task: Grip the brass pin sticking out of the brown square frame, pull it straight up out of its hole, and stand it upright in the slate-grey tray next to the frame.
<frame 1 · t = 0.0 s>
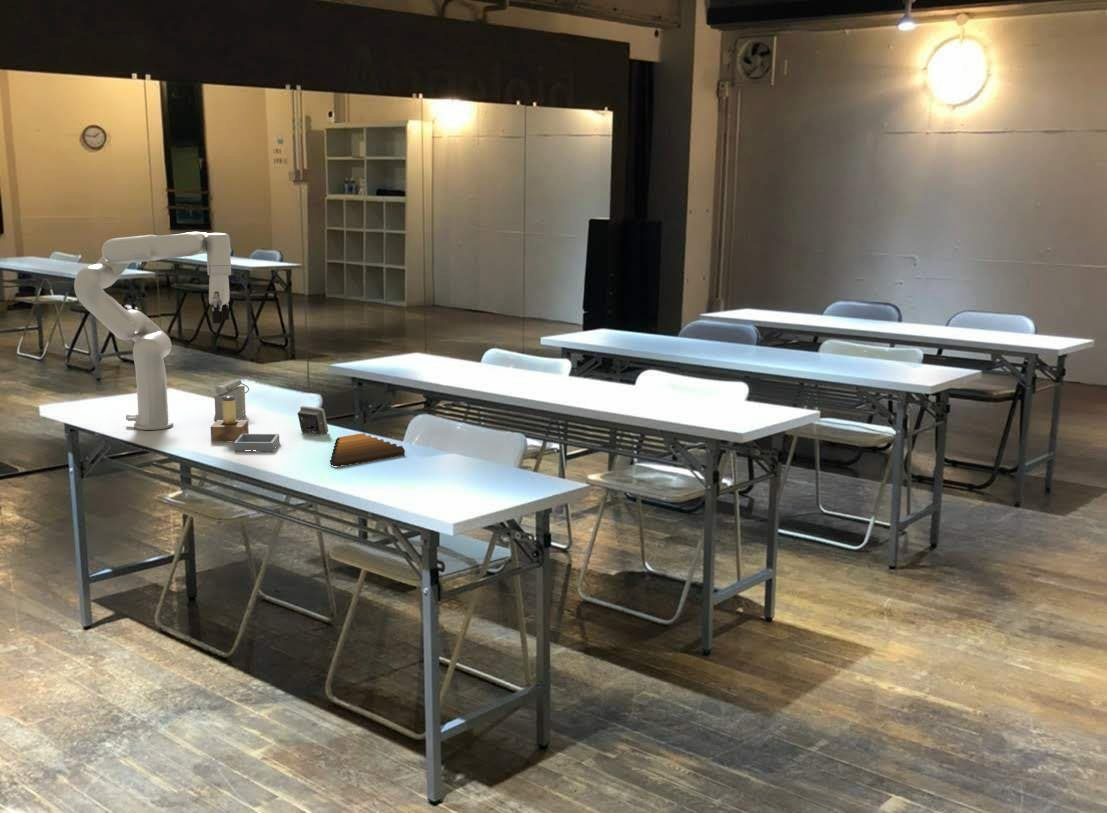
hand: (221, 321, 349), 37 cm above the table, tool pointing down, fingers open, 9 cm apart
brass pin: (229, 417, 340), in the brown square frame
electrical switch: (313, 433, 352), on the table
pan flute: (349, 455, 327), on the table
parts tray: (257, 447, 331), on the table
geiger counter: (229, 422, 365), on the table
brown square frame: (230, 438, 342), on the table
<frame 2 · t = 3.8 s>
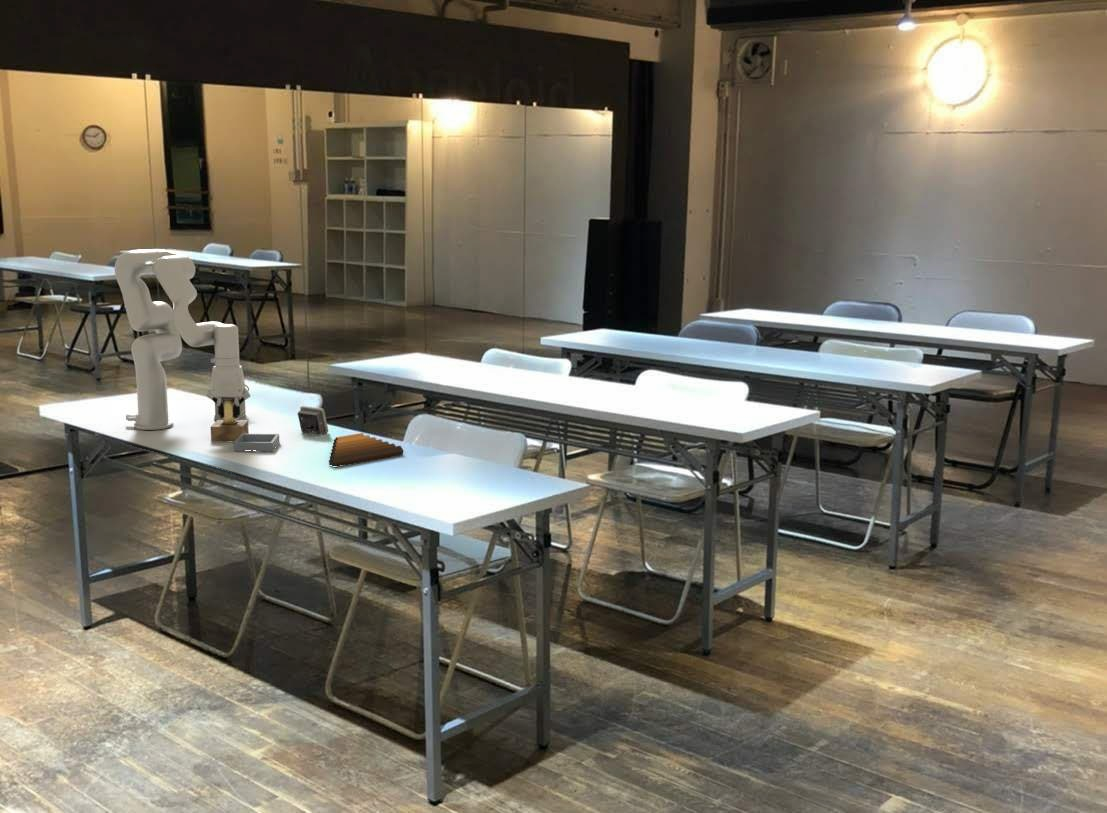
hand: (229, 416, 340), 7 cm above the table, tool pointing down, fingers closed on brass pin, 4 cm apart
brass pin: (229, 417, 340), in the brown square frame, touching gripper
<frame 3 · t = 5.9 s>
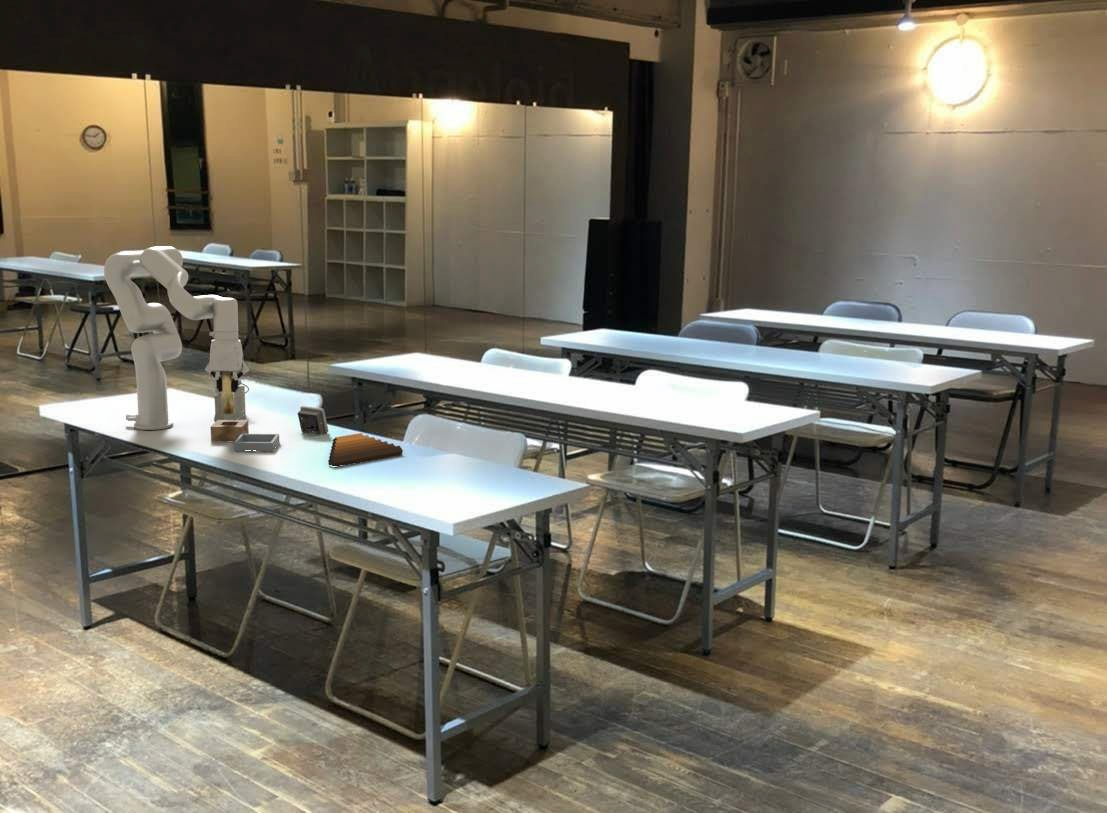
hand: (227, 390, 339), 16 cm above the table, tool pointing down, fingers closed on brass pin, 4 cm apart
brass pin: (227, 391, 339), point 16 cm above the table, touching gripper
everything else where it was.
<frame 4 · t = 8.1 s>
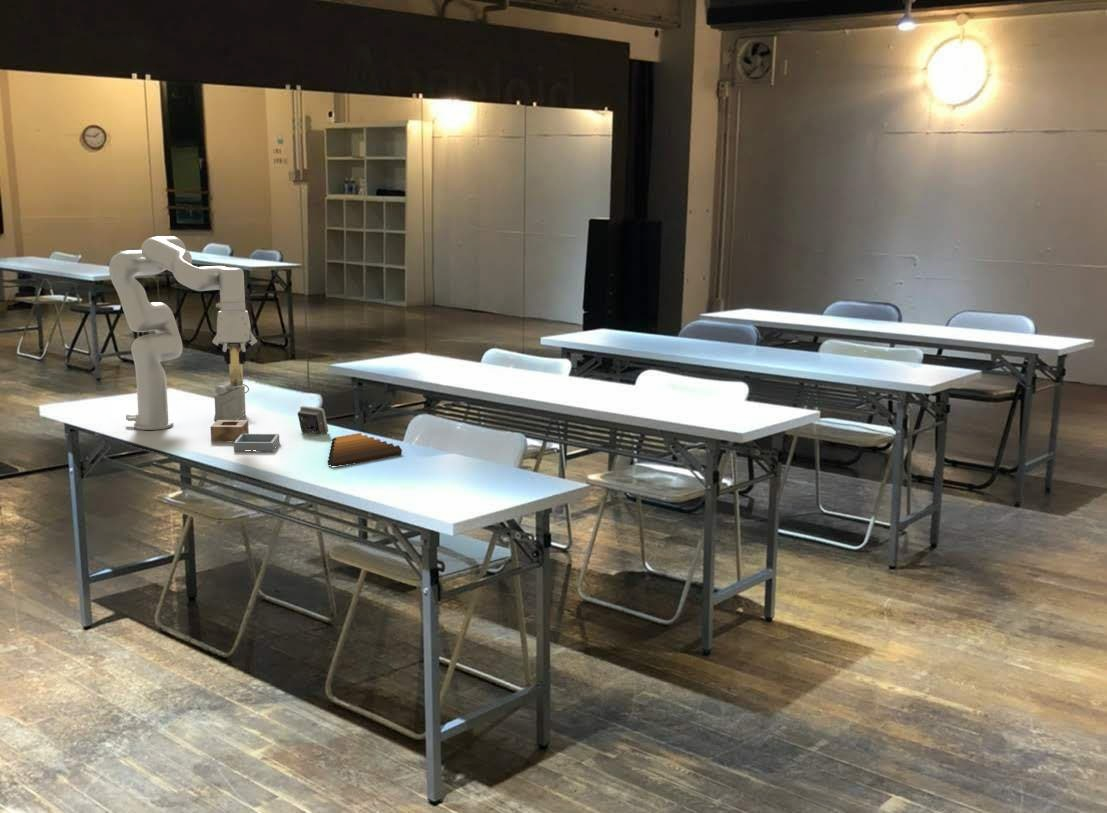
hand: (235, 362, 333), 26 cm above the table, tool pointing down, fingers closed on brass pin, 4 cm apart
brass pin: (235, 363, 333), point 26 cm above the table, touching gripper
everything else where it was.
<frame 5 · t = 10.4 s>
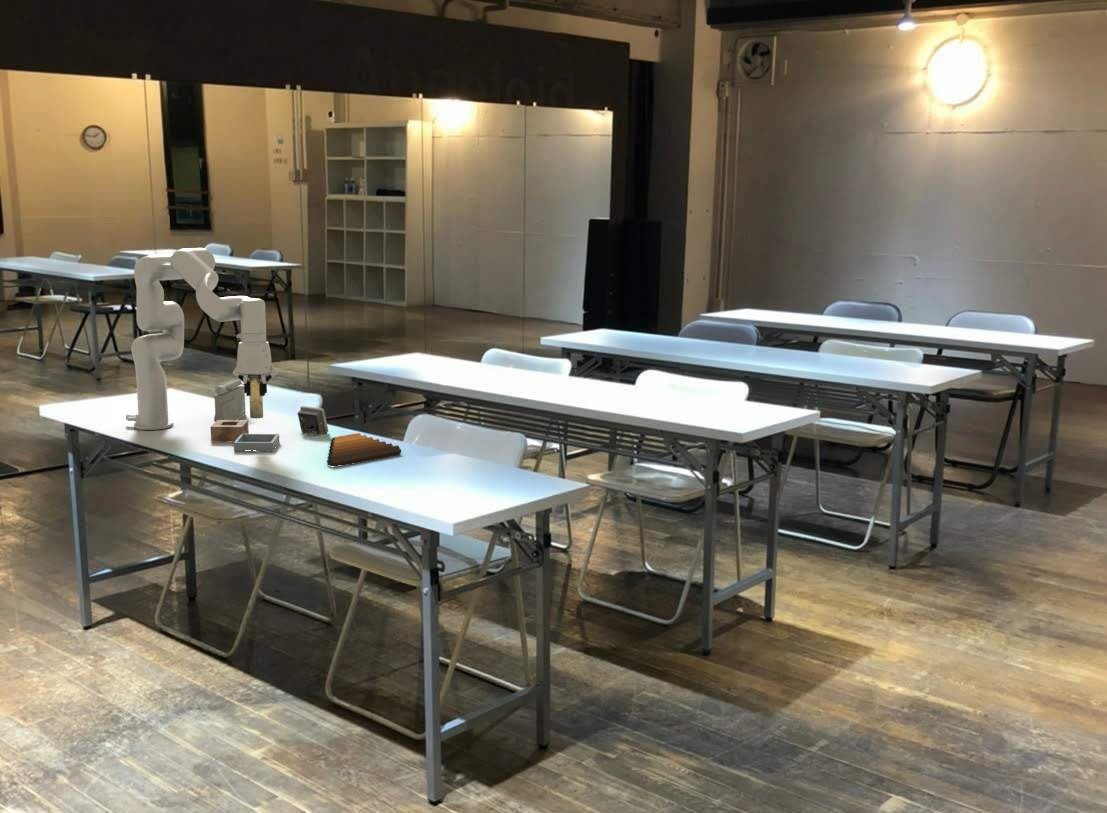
hand: (255, 394, 327), 17 cm above the table, tool pointing down, fingers closed on brass pin, 4 cm apart
brass pin: (255, 395, 327), point 17 cm above the table, touching gripper
when the fingers open (10 cm above the table, at t = 12.5 s): brass pin drops 2 cm, resting on parts tray.
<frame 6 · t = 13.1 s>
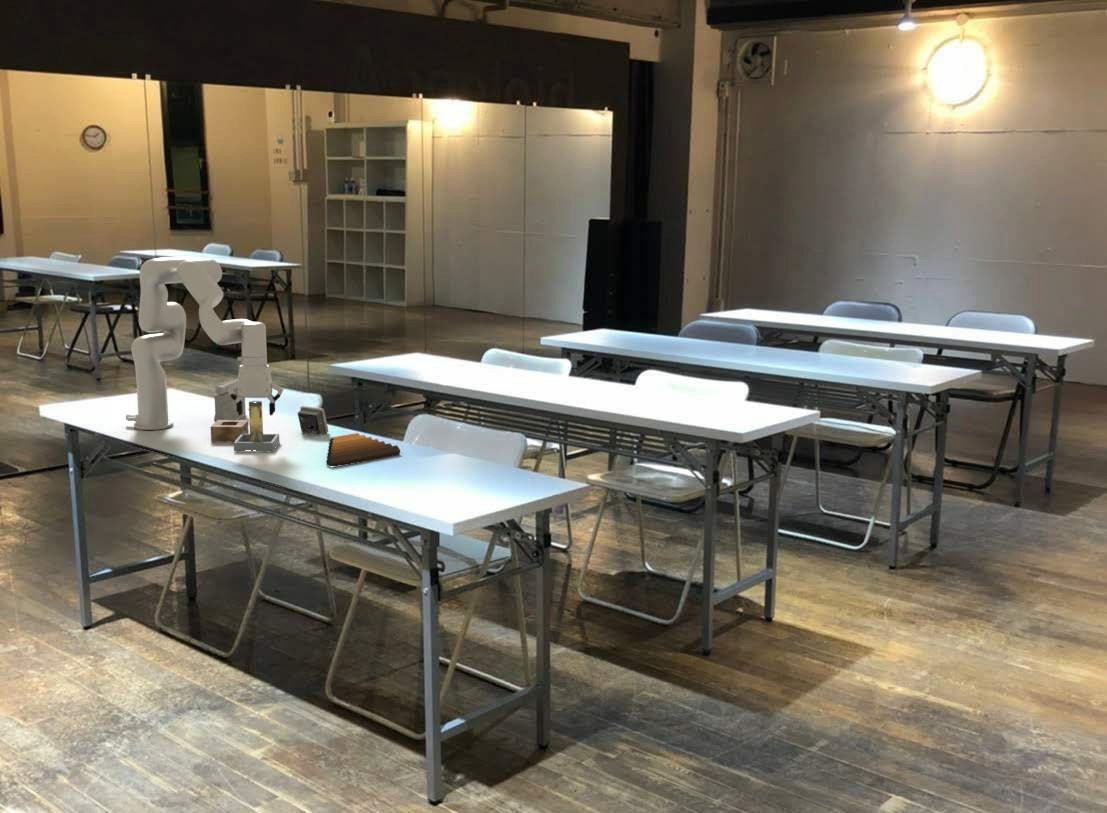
hand: (256, 414, 329), 11 cm above the table, tool pointing down, fingers open, 9 cm apart
brass pin: (256, 423, 329), in the parts tray, point 8 cm above the table
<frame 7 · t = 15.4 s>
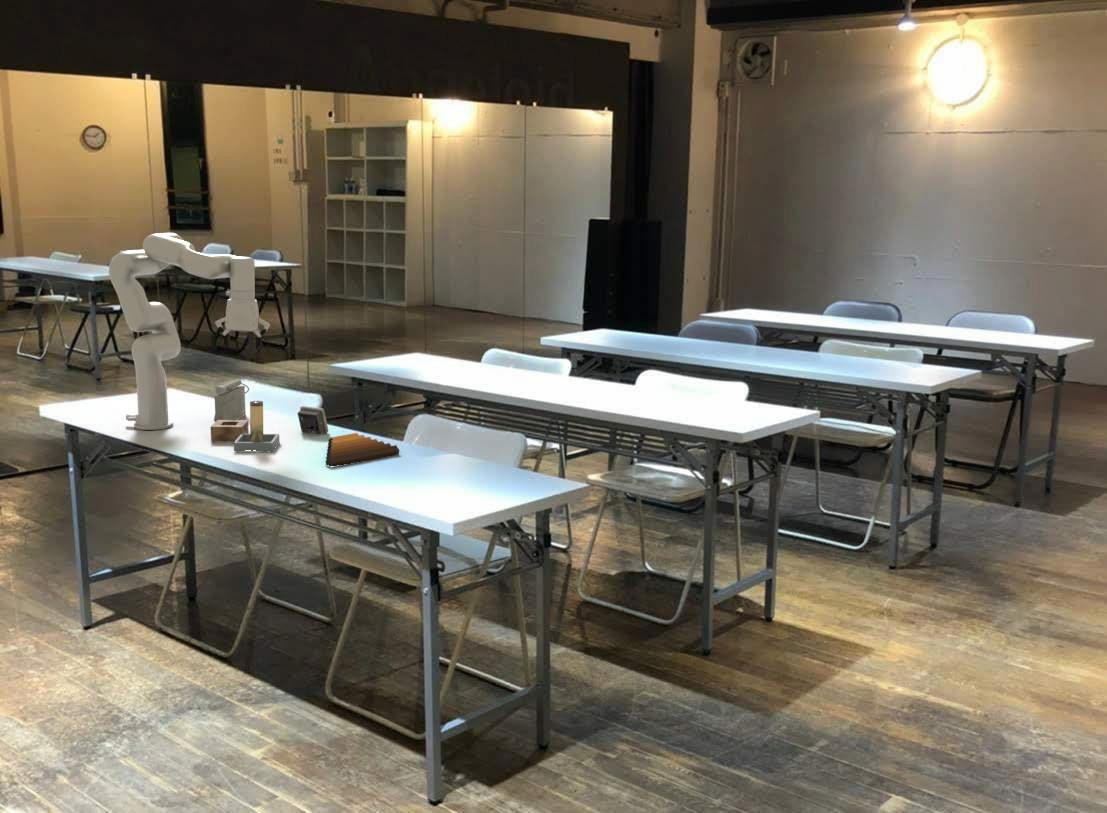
hand: (242, 347, 337), 30 cm above the table, tool pointing down, fingers open, 9 cm apart
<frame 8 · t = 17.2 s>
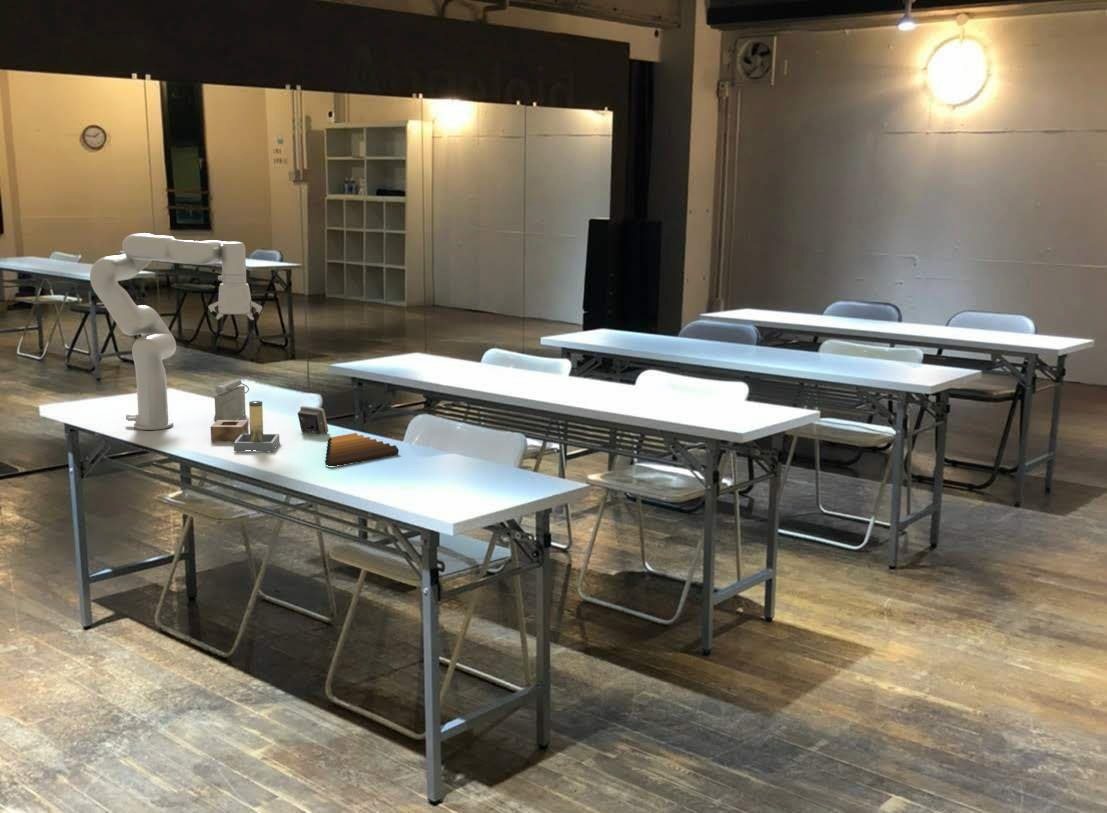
hand: (236, 331, 345), 34 cm above the table, tool pointing down, fingers open, 9 cm apart
at the end: brass pin inside the target area on the parts tray (0.0 cm from its centre), point 7.8 cm above the parts tray's base; brass pin tilted 1°; the gripper is holding nothing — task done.
